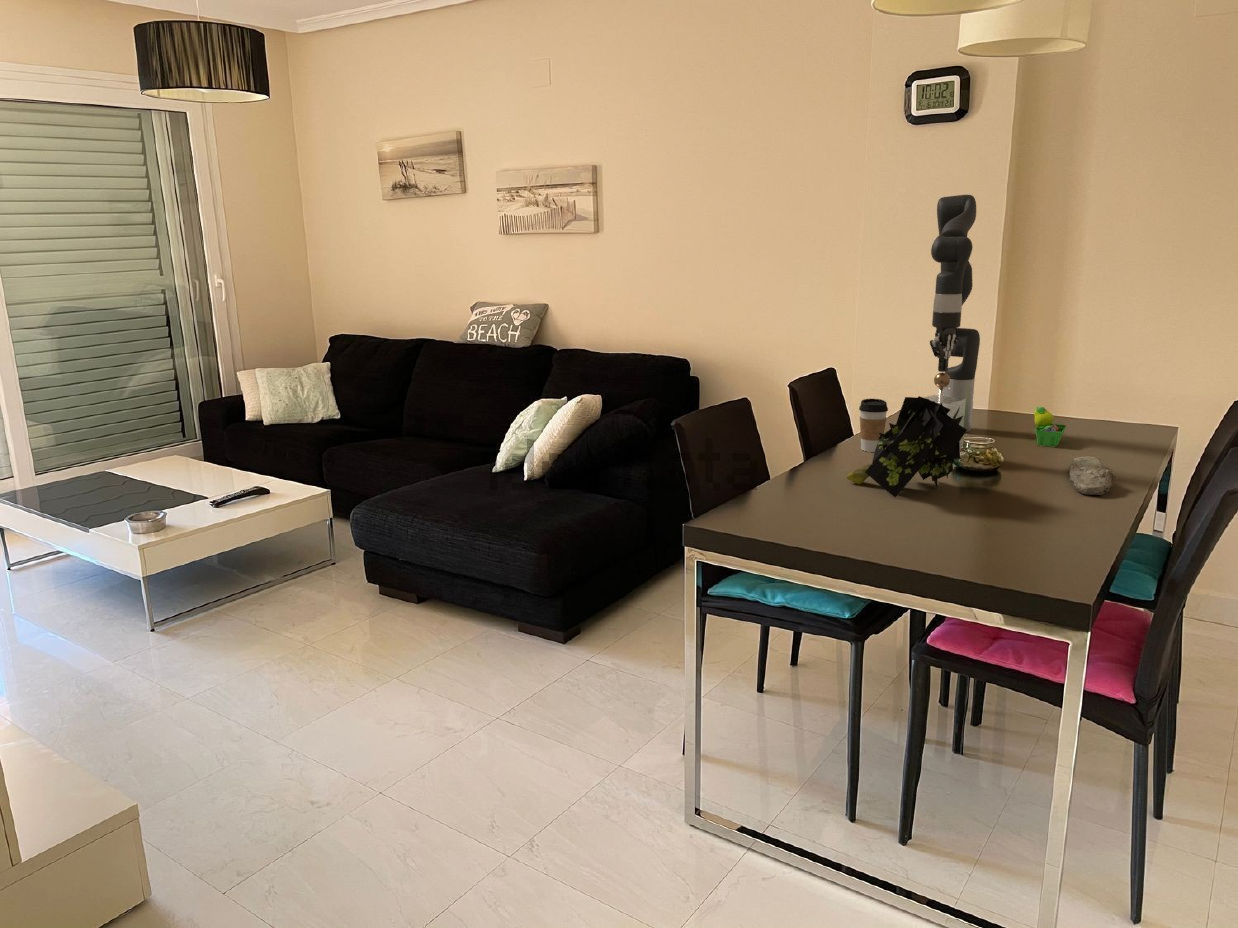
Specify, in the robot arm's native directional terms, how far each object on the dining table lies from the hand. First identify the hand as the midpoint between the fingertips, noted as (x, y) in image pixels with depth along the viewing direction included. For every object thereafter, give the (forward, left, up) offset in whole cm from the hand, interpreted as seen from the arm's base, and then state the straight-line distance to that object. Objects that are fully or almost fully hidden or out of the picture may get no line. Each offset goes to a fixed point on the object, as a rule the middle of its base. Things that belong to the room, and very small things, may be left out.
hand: (942, 371), depth 261 cm
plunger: (0, 0, -22) cm, 22 cm away
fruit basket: (-39, +15, -25) cm, 49 cm away
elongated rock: (-5, +41, -26) cm, 48 cm away
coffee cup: (+6, -18, -25) cm, 32 cm away
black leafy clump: (+37, +11, -25) cm, 46 cm away
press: (0, 0, -25) cm, 25 cm away
